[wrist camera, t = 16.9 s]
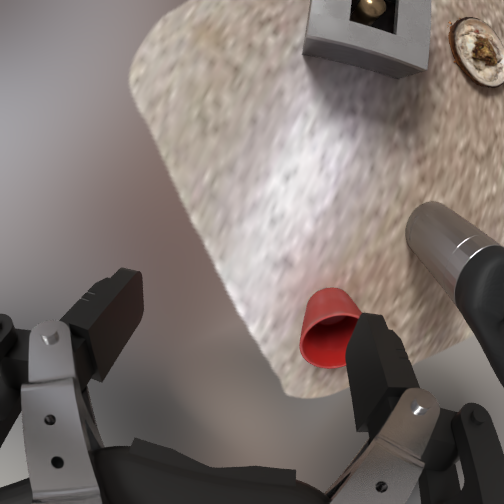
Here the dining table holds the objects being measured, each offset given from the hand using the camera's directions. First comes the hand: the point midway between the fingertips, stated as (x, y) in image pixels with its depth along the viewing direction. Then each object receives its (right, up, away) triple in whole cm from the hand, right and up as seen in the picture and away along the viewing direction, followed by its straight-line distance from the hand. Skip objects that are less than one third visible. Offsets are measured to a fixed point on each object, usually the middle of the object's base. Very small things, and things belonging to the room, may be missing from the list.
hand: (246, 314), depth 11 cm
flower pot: (+13, -7, +39) cm, 42 cm away
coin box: (+15, +34, +20) cm, 42 cm away
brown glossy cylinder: (+15, +34, +20) cm, 42 cm away
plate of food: (+36, +34, +19) cm, 53 cm away
